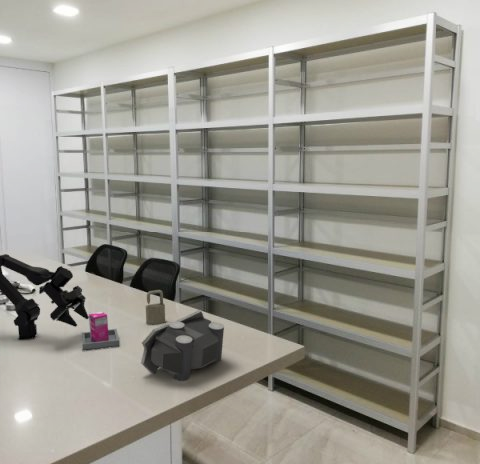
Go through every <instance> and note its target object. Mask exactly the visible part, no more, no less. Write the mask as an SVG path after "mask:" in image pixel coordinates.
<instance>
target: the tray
mask: <svg viewBox="0 0 480 464" xmlns="http://www.w3.org/2000/svg"><path fill="white" fill-rule="evenodd" d="M118 333H119V332H118V328H112V329H111V328H110V329H108V334H109V341H101V342H92V341H91V338H90V331H87V332H86V331H84V332H81V338H82V339H81V344H82V345H81V347H82V351H83V350H86V351H92V350H93V349H94V350H101V348H103V349H108V348H109V347H111V348H117V347H120V337H119V334H118Z"/></svg>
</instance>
